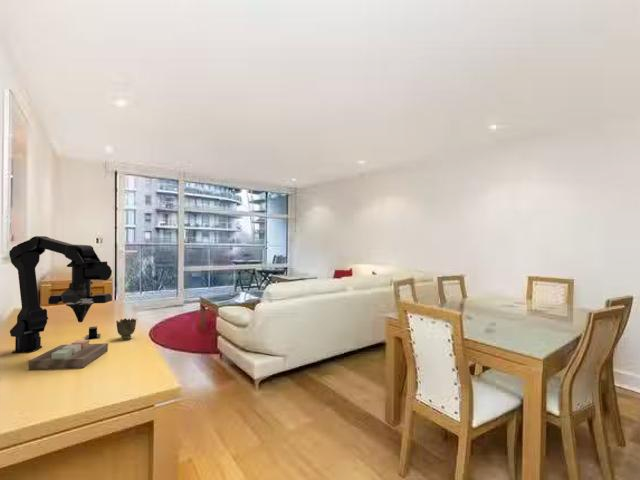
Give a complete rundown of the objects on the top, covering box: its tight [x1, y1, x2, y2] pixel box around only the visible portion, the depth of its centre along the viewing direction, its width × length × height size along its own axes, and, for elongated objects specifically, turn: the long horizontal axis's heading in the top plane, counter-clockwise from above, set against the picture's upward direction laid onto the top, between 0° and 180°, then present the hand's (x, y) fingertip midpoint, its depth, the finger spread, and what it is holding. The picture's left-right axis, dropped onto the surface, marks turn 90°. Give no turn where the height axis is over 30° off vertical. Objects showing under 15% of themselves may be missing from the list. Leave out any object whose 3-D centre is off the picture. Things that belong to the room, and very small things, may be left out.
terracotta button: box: [70, 339, 90, 348], centre depth 123 cm, size 4×4×3 cm
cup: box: [115, 318, 137, 341], centre depth 143 cm, size 8×7×8 cm
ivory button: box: [62, 344, 81, 353], centre depth 117 cm, size 4×4×3 cm
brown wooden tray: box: [28, 342, 109, 371], centre depth 117 cm, size 16×17×3 cm
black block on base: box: [84, 325, 102, 341], centre depth 146 cm, size 12×7×5 cm, turn 32°
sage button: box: [51, 349, 72, 359], centre depth 112 cm, size 4×4×3 cm
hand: (80, 322), depth 123 cm, fingers closed
